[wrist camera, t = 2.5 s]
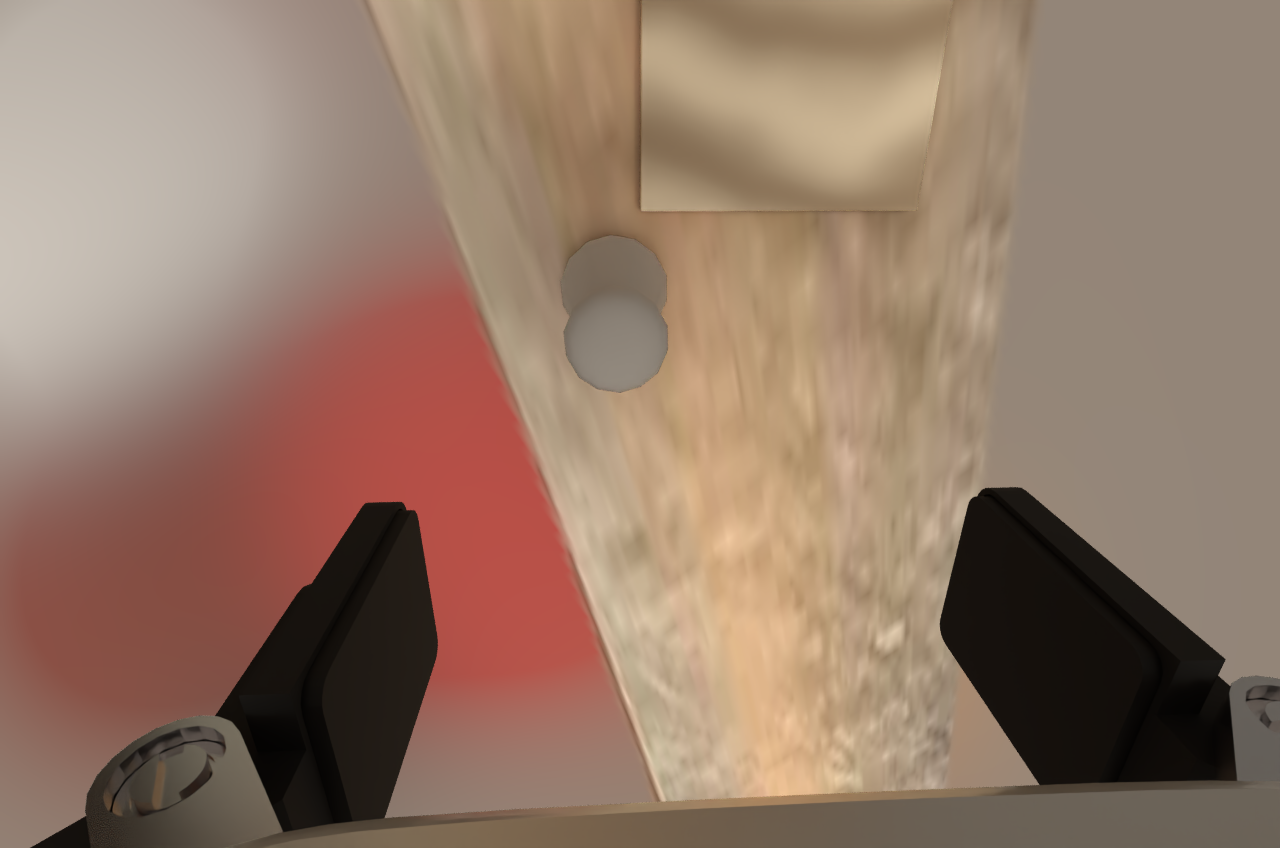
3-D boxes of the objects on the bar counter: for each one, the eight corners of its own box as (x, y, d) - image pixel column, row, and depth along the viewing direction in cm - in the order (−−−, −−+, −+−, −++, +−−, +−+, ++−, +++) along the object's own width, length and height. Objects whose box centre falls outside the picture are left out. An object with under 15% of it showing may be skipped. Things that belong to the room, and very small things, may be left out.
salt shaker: (680, 300, 38) (714, 377, 26) (596, 346, 39) (591, 440, 27) (633, 209, 36) (646, 248, 24) (544, 260, 37) (515, 321, 25)
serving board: (641, -222, 28) (642, -240, 27) (974, -213, 29) (992, -230, 28) (640, 208, 36) (641, 211, 34) (905, 207, 36) (916, 210, 35)
